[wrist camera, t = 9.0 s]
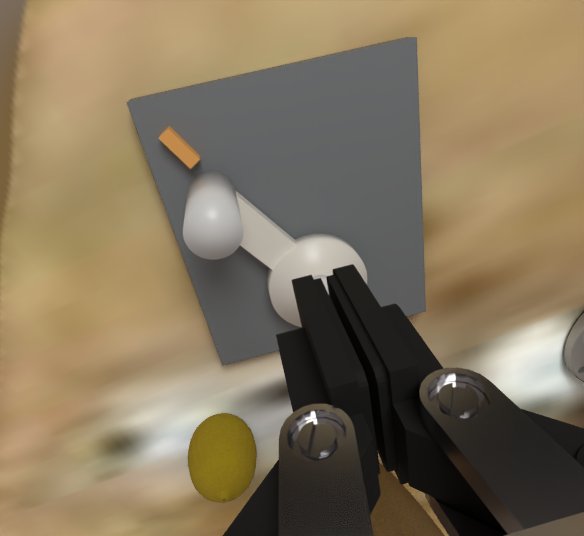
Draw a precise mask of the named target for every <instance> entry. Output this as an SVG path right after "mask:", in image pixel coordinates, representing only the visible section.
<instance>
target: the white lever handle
mask: <svg viewBox="0 0 584 536" xmlns="http://www.w3.org/2000/svg"><path fill="white" fill-rule="evenodd" d="M183 238H184V241H185V243H186V245H187V247H188V248H189V249H190V250H191V251H192V252H193V253H194V254H196V255H197V256H199V257H201V258H205V259H210V260H217V259H222V258H225V257H227V256H229V255H231V254H232V253H234V252H235V251H236V250H237V249H238V247H239V246H242V247H243V248H244V249H245V250H247V251H248V252H249V253H251V254H252V255H253V256H255V257H256V258H257V259H259V260H260V261H261V262H263V263H264V264H265V265H266V266H268V267H269V270H268V276H267V285H268V291H269V295H270V299H271V302H272V305H273V307H274V309H275V310H276V312H277V313H278V314H279V315H280V316H281V317H282V318H283V319H284V320H285V321H287V322H289V323H291V324H293V325H295V326H299V327H302V326H301V321H300V317H299V312H298V308H297V303H296V299H295V294H294V290H293V285H292V279H296V278H300V277H304V276H308V275H312V277H313V279H318V278H321V279H322V281H323V284H324V286H325V288H326V290H327V292H328V294H329V291H328V286H327V279H326V277H327V276H330V275H333V269H335V268H339V267H343V266H347V265H351V264H353V265H354V266H355V267H356V269H357V270H358V272H359V273H360V275H361V277H362V278H363V280H364V281H365V283H366V284H367V271H366V268H365V265H364V263H363V261H362V260H361V258H360V257H359V255H358V254H357V252H356V251H355V250H354V248H353V247H352V246H351V245H350V244H349V243H348V242H346V241H345V240H343V239H342V238H340V237H337V236H335V235H330V234H324V233H316V234H309V235H305V236H302V237H299V238H297V239H293V238H292V237H291V236H290V235H289V234H287V233H286V232H285V231H284V230H283V229H281V228H280V227H279V226H278V225H277V224H275V223H274V222H273V221H272V220H271V219H269V218H268V217H267V216H266V215H265V214H263V213H262V212H261V211H260V210H259V209H257V208H256V207H255V206H254V205H253V204H251V203H250V202H249V201H248V200H247V199H245V198H244V197H243V196H242V195H241V194H239V193H238V192H237V191H236V190H235V187H234V185H233V183H232V182H231V180H230V179H229V178H228V177H226V176H225V175H223V174H221V173H218V172H204V173H201V174H199V175H197V176H196V177H195V178H194V179H193V180H192V181H191V183H190V185H189V187H188V193H187V201H186V209H185V216H184V224H183Z"/></svg>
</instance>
